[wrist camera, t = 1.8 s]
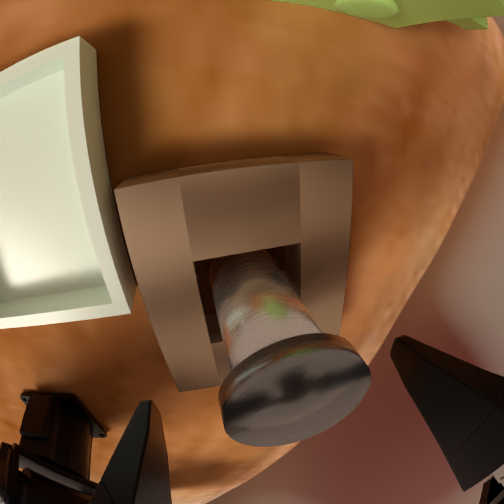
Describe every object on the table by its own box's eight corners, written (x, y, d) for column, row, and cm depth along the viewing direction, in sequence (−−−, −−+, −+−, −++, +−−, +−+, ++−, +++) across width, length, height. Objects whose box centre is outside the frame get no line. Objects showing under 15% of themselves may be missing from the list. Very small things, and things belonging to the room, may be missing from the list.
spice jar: (284, 299, 17) (355, 420, 9) (205, 314, 16) (234, 456, 8) (282, 224, 15) (385, 335, 7) (190, 238, 14) (209, 384, 6)
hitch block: (320, 332, 19) (335, 356, 17) (177, 362, 17) (179, 391, 15) (327, 152, 14) (352, 159, 11) (125, 178, 12) (113, 189, 10)
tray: (136, 285, 14) (130, 313, 12) (2, 306, 13) (-14, 329, 10) (96, 49, 9) (79, 35, 7) (-47, 121, 7) (-73, 125, 5)
